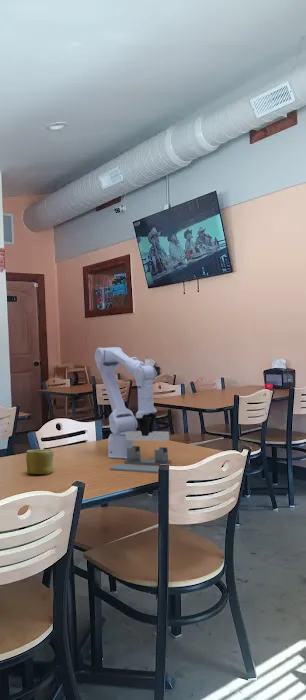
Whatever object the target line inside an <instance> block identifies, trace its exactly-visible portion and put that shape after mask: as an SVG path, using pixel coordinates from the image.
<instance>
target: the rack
mask: <svg viewBox="0 0 306 700" xmlns="http://www.w3.org/2000/svg"><path fill="white" fill-rule="evenodd" d="M168 450H169V449H168V447H166V446H165V447H164V446H163V447H162V446H159V448H158V449H154V458H142V457H141V446H140V445H133V446H132V448H127V458H126V460H124V464H130V465H146V466H159V465H160V464H167V465H169V464H170V463H172V461H171V460H170V459H169V457H168V456H169V454H168V452H169V451H168Z"/></svg>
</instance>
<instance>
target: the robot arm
mask: <svg viewBox="0 0 306 700" xmlns="http://www.w3.org/2000/svg"><path fill="white" fill-rule="evenodd" d="M94 353H95V354H94V360H95V364H96V367H97V370H98V372H99V373H100V376H101V379H102V383H103V386H104V389H105V391H106V396H107V399H108V401H109V404H110V407H111V411H112V412H111V413H110V414H109V416H108V421H109V424H108V425H109V429H110V432H111V433H110V434H109V436H108V438H107V445H108V446H107V448H108V449H107V451H108V455H107V458H112V459H113V458H115V459H127V448H132V446H134V440H126V432H127V431H137V428H138V426H139V429H140V430H139V431H141V433H142V436H148V433H149V431H153V429H154V423H155V421H156V418H157V416H158V414H156V413H157V412H158V410H157V408H156V407H154V406H155V405H154V404H155V403H154V402H155V401H154V380H155V379H156V376H157V371H156V368H155V367H154V366H153V365H152V364H145V362H143V361H140V360H139V359H138V356H137V357H136V356H133V357H130V356H129V355H127V354H125V352H123V349H122V348H120V347H119V346H116V347H97V348H96V350H95V351H94ZM120 364H122V365H123V366H124V368H125V371H127V372H128V373H130V374H132V375H133V378H134V380H135V384H136V387H137V407H138V410H137V412H135V415H134V414H133V411H132V410H130V409H129V408H127V407H126V405H125V402H124V399H123V395H122V393H121V390H120V387H119V384H118V381H117V378H116V374H115V371H116V370H118V368H119V365H120Z"/></svg>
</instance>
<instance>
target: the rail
mask: <svg viewBox="0 0 306 700" xmlns="http://www.w3.org/2000/svg"><path fill="white" fill-rule="evenodd" d="M126 440H133V442H135V441H142V442H145V441H146V442H168V441H170V431H160V430H159V431H158V430H157V431H156V430H155V431H153V430H152V431H149V433H148V436H142V433H141V430H135V431H127V432H126Z"/></svg>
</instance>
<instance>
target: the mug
mask: <svg viewBox="0 0 306 700" xmlns="http://www.w3.org/2000/svg"><path fill="white" fill-rule="evenodd" d="M54 454H55V453H54V449H51V448H48V449H27V450H26V456H25V457H26V472H27V474H28V475H48V474H51V473H52V472H53V461H54V456H55V455H54Z"/></svg>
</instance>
